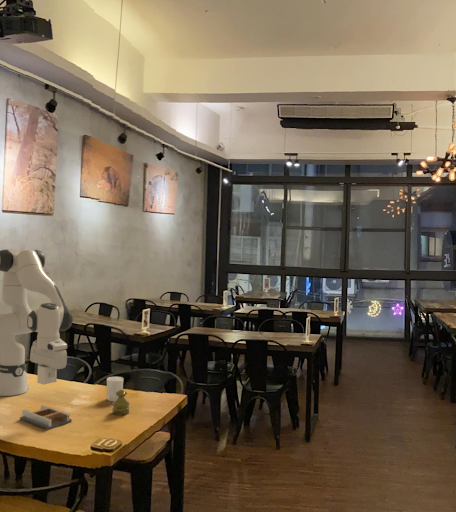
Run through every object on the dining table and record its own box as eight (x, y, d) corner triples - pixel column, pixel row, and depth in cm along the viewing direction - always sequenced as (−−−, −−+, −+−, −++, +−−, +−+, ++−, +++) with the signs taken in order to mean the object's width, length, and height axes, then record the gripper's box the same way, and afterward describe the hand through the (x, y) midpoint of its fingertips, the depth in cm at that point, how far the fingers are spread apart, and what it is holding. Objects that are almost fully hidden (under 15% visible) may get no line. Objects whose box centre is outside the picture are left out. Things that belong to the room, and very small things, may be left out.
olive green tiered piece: (118, 408, 220) (119, 387, 220) (132, 411, 217) (133, 389, 217) (108, 413, 213) (109, 391, 213) (123, 416, 210) (123, 393, 210)
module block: (37, 382, 200) (37, 365, 200) (49, 379, 205) (50, 363, 205) (43, 384, 198) (44, 367, 198) (56, 381, 203) (57, 364, 203)
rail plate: (19, 419, 202) (20, 411, 202) (45, 412, 212) (45, 404, 212) (46, 430, 192) (46, 421, 192) (71, 421, 202) (71, 413, 202)
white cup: (103, 398, 234) (103, 378, 234) (117, 395, 239) (118, 375, 239) (110, 403, 228) (111, 381, 228) (125, 399, 233) (126, 379, 233)
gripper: (26, 340, 205) (25, 372, 205) (56, 347, 193) (55, 381, 193) (39, 338, 210) (38, 370, 210) (70, 345, 198) (68, 378, 199)
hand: (47, 375), depth 202 cm, fingers closed on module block, 4 cm apart
